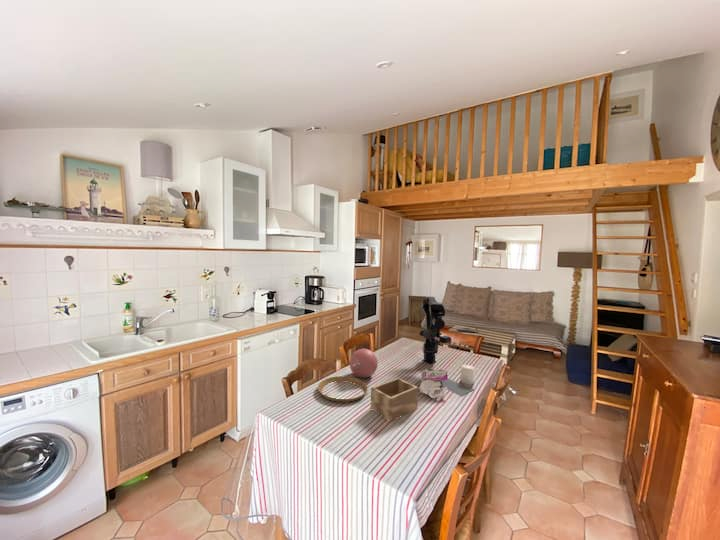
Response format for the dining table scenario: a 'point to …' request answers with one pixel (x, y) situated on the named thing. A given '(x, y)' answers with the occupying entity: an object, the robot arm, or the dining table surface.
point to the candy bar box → (434, 375)
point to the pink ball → (363, 363)
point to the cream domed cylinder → (467, 374)
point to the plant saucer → (342, 378)
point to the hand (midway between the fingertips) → (434, 350)
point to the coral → (432, 389)
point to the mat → (455, 387)
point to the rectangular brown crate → (394, 398)
